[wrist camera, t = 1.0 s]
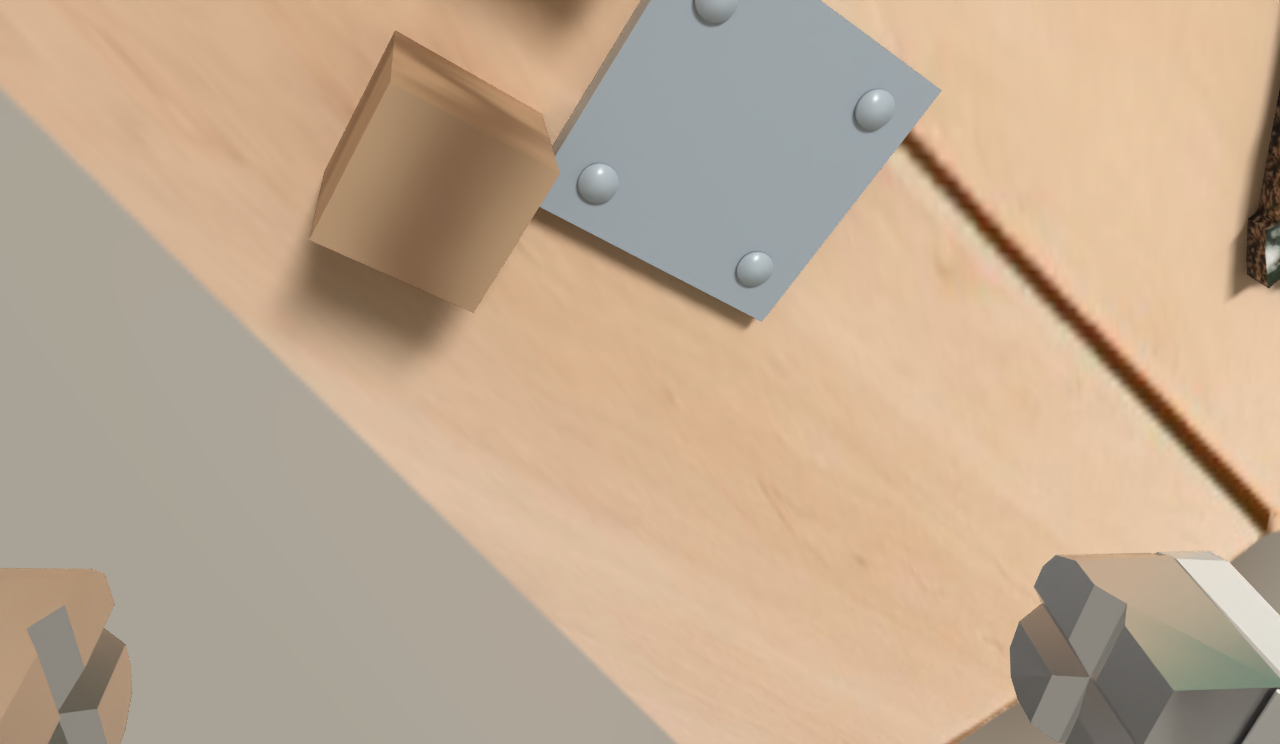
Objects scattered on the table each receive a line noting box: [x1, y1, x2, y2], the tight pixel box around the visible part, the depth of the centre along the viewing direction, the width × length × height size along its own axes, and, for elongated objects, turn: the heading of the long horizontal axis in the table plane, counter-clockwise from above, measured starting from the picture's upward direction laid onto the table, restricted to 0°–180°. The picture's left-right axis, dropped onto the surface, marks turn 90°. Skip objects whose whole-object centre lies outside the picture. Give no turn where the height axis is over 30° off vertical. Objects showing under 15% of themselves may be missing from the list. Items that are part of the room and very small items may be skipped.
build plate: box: [540, 0, 942, 322], centre depth 37 cm, size 12×12×1 cm
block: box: [309, 31, 560, 313], centre depth 33 cm, size 6×6×6 cm
